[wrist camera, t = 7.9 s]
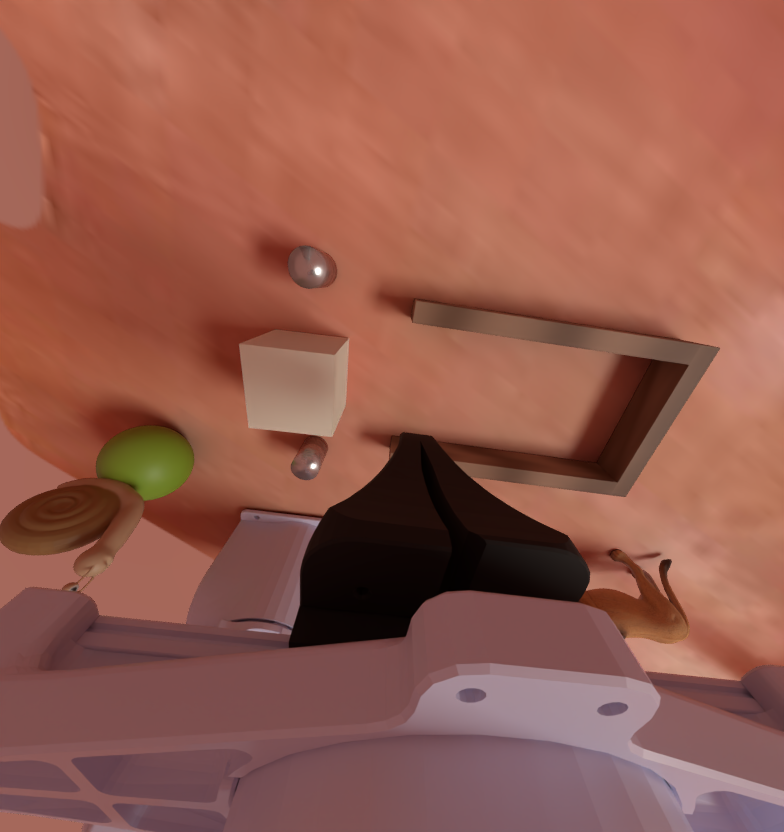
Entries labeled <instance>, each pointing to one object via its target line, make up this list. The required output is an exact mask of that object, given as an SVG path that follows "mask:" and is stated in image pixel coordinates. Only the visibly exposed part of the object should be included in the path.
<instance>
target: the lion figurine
mask: <svg viewBox="0 0 784 832" xmlns="http://www.w3.org/2000/svg"><path fill="white" fill-rule="evenodd" d="M611 558H612V560H614V561H617V562H622V563H624V564H625V565H626V566H627V567H628V568H629V569H630V570H631V571H632V573H631V574H632V576H633V577H634V578H635V579H636V582H637V585H638V588H639V590H640V593H641V595H640V597H639V598H638V599H636V598H634V597H632V596H630V595H627V594H625V593H622V592H620V591H617V590H612V589H604V588H602V589H593V590H588V591H585V593H584V594H583V596H582V597H581V599H580V600H579V602H578V603H582V604H585V605H588V606H591V607H594V608H597V609H600V610H603V611H605V612H606V613H607V614H608V615H609V617H610V618H611V620H612V621H613V622H614V624H615V625H616V627H617V629H618V630H619V632H620V633H621V635H622V636H623V638H624V639H625V638H646V639H650V640H654V641H657V642H659V643H665V644H673V643H676V642H678V641H682V640H685V639H686V638H687V637H688V635H689V631H690V626H689V622H688V619H687V617H686V615H685V612H684V611H683V609H682V607H681V605H680V603H679V602H678V600H677V598H676V596H675V594H674V593H673V591H672V589H671V587H670V585H669V582H668V579H667V571H668V570H669V568H670V565H671V562H672V561H671V559H667V560H662V561H661V563H660V566H659V573H660V578H661V581H662V584H663V587H664V590H665V592H666V594H667V596H668V598H669V600H668V599H667V598H665V597H664V596H663V595H662V594H661V593H660V591H659V589H658V587H657V585H656V584H655V582H654V580H653V579H652V577H651V576H650V575H649V574H648V573H647V572H646V571H644V570H642V569H641V568H640V567H639V566H638V565H636V564H635V563H634V562H633V561H632V560H631V559H630V558H629V557H628V556H627V555H626V554H625V553H624V552H622V551H620V550H615V551H613V552H612V553H611Z"/></svg>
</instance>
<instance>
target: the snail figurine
mask: <svg viewBox="0 0 784 832" xmlns="http://www.w3.org/2000/svg"><path fill="white" fill-rule="evenodd" d="M193 465H194V453H193V450H192V447H191V445H190V444H189V442H188V441H187V440H186V439H185V438H184V437H183V436H182V435H181V434H179V433H178V432H176V431H174V430H172V429H169V428H166V427H161V426H151V425H149V426H139V427H134V428H131V429H128V430H125V431H123V432H121V433H119V434H117V435H116V436H114V437H113V438H111V439H110V440H109V441H108V442H107V443H106V444H105V445H104V446H103V448H102V449H101V451H100V453H99V455H98V457H97V461H96V473H97V477H98V478H84V479H78V480H74V481H70V482H66V483H63V484H61V485H59V486H58V487H57V489H54V490H50V491H47V492H44V493H41V494H39V495H36V496H34V497H32V498H30V499H28V500H26V501H24V502H22V503H21V504H19V505H18V506H16V507H15V508H14V509H13V510H12V511H10V512H9V513H8V515H7V516H6V517H5V518H4V519H3V521H2V523H1V525H0V541H1V543H2V544H3V545H4V546H5V547H7V548H8V549H9V550H11V551H14V552H16V553H19V554H26V555H50V554H58V553H62V552H66V551H71V550H74V549H76V548H80V547H82V546H85V545H87V544H89V543H91V542H94V541H95V540H97V539H99V538H100V539H99V540H98V541H97V543H96V544H95V545H94V546H93V547H91V548H90V549H88V550H86V551H85V552H83V553H82V554H81V555H80V556H79V557H78V558H77V559H76V561H75V563H74V566H73V568H74V571H75V573H76V574H77V575H79V576H82V578H81V579H80V580H79V581H78V582H76V583H74V582H72V583H69V584H67V585H65V586H64V587H63V588H62V590H68V591H76V592H80V593H81V591H82V590H83V589H85V587H86V586H87V585H88V584H89V583H90V582H91V581H92V580H93V579H94V577H95V576H96V575H98V574H100V573H102V572H104V571H105V570H106V569H107V568H108V567H109V566H110V565H111V563H112V562H113V559H114V557H115V554H116V553H117V552H118V550H119V549H120V548H121V547H122V546H123V545H124V543H125V542H126V541H127V539H128V538H129V536H130V535H131V534H132V532H133V531H134V529H135V528H136V526H137V524H138V523H139V521H140V519H141V517H142V514H143V511H144V501H146V500H153V499H157V498H160V497H163V496H166V495H168V494H170V493H172V492H173V491H175V490H176V489H178V488H179V487H180V486H181V485H182V484H183V483H184V482H185V481H186V480H187V478H188V477H189V475H190V474H191V471H192V469H193ZM84 577H92V578H91V580H90V581H89V582H88V583H87V584H86V585H85V586H84V587H83V588H82V589H81V590H80V591H77V590H78V588H79V586H78V583H79V582H80V581H81V580H82V579H84Z"/></svg>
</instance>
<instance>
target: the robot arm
mask: <svg viewBox="0 0 784 832" xmlns="http://www.w3.org/2000/svg"><path fill="white" fill-rule="evenodd" d="M240 516H241V521H240V522H239V524H238V525H237V527H236V529H235V530H234V532H233V533H232V535H231V536H230V538H229V539H228V541H227V542H226V544H225V545H224V547H223V548H222V550H221V551H220V553H219V554H218V556H217V557H216V559H215V560H214V562H213V563H212V565H211V566H210V568H209V569H208V571H207V572H206V574H205V576H204V577H203V579H202V581H201V583H200V585H199V586H198V589H197V591H196V593H195V595H194V598H193V600H192V603H191V605H190V608H189V612H188V616H187V622H186V624H179V623H169V622H160V621H150V620H140V619H130V618H121V617H111V616H101V615H99V613H98V609H97V605H96V603H95V601H94V600H93V599H92V598H91V597H89V596H87V595H86V594H84V593H80V592H76V591H68V590H57V589H48V588H38V587H29V588H25V589H24V590H23V591H22V592H21V593H19V594H18V595H17V596H16V597H14V598H13V599H12V600H11V601H10V602H8V603H7V604H6V605H5V606H3V607H2V608H1V609H0V812H7V813H16V814H23V815H32V816H39V817H46V818H53V819H60V820H67V821H74V822H81V823H84V824H83V826H82V832H784V666H778V665H762V666H758V667H755V668H753V669H752V670H750V671H748V672H747V673H746V674H745V675H744V676H743V677H742V678H741V681H735V680H725V679H716V678H706V677H696V676H686V675H677V674H667V673H657V672H647V671H644V670H643V668H642V667H641V665H640V663H639V662H638V660H637V659H636V657H635V655H634V654H633V652H632V651H631V649H630V648H629V646H628V644H627V643H626V641H625V640H624V638H623V636H622V635H621V633H620V632H619V630H618V629H617V627H616V625H615V624H614V622H613V621H612V620H611V618H610V617H609V615H608V614H607V613H606V612H605V611H603V610H600V609H597V608H594V607H591V606H588V605H585V604H582V603H578V602H579V600H580V599H581V597H582V596H583V594H584V593H585V591H586V588H587V586H588V584H589V582H590V571H589V568H588V566H587V564H586V562H585V561H584V559H583V558H582V556H581V555H580V553H579V552H578V550H577V549H576V547H575V546H574V544H573V543H572V541H571V540H570V538H569V537H568V536H567V535H565V534H563V533H561V532H559V531H557V530H555V529H553V528H550V527H548V526H546V525H544V524H542V523H540V522H537V521H536V520H534V519H532V518H530V517H528V516H526V515H524V514H523V513H521V512H519V511H517V510H515V509H514V508H512V507H510V506H509V505H507V504H506V503H504V502H503V501H501V500H500V499H498V498H497V497H495V496H494V495H492V494H491V493H489V492H488V491H487V490H485V489H484V488H483V487H481V486H480V485H479V484H478V483H476V482H475V481H474V480H473V479H472V478H471V477H469V476H468V475H467V474H466V473H465V472H464V471H463V470H462V469H461V468H460V467H459V466H458V465H457V464H456V463H455V462H454V461H453V460H452V459H451V458H450V457H449V456H448V454H447V453H446V452H445V451H444V450H443V449H442V447H441V446H440V445H439V444H438V443H437V441H436V440H435V439H434V438H433V437H432V436H428V435H420V434H413V433H405V432H403V433H402V434H400V439H399V444H398V446H397V448H396V450H395V452H394V454H393V455H392V457H391V458H390V460H389V461H388V463H387V464H386V465H385V467H384V468H383V469H382V470H381V471H380V472H379V474H378V475H377V476H376V477H375V478H374V479H372V480H371V481H370V482H369V483H368V484H367V485H366V486H365V487H363V488H362V489H361V490H359V491H358V492H356V493H355V494H354V495H352V496H351V497H349V498H348V499H346V500H344V501H342V502H340V503H338V504H336V505H334V506H332V507H330V508H329V509H328V510H327V512H326V513H325V515H324V516H323V518H315V517H307V516H299V515H291V514H282V513H274V512H266V511H257V510H249V509H245V510H243V511H242V512H241V515H240Z"/></svg>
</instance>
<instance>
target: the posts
mask: <svg viewBox="0 0 784 832" xmlns="http://www.w3.org/2000/svg"><path fill="white" fill-rule="evenodd" d="M288 270H289V273H290V276H291V277H292V279H293V280H294V281H295V283H297V284H298V285H299V286H301V287H303V288H308V289H310V288H324V287H328V286H330V285H331V284H332V283H333V282H334V281H335V279H336V276H337V267H336V263H335V261H334V260H333V258H332V257H331V256H330V255H329V254H327V253H325V252H322V251H320V250H317V249H315V248H312V247H310V246H299V247H297V248H295V249H294V250H293V251H292V252H291V254H290V256H289V259H288ZM327 451H328V445H327V443H326V442H325V441H324V440H323V439H322V438H320V437H317V436H312V437H309V438H307V439H306V440H305V441H304V443H303V445H302V446H301V448H300V450H299V451H298V453H297V455H296V457H295V458H294V460H293V462H292V463H291V471H292V473H293V474H294V475H295V476H296V477H298V478H300V479H303V480H311V479H313V478H315V477H316V476H317V474H318V472H319V470H320V467H321V465H322V463H323V460H324V458H325V456H326V453H327Z"/></svg>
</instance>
